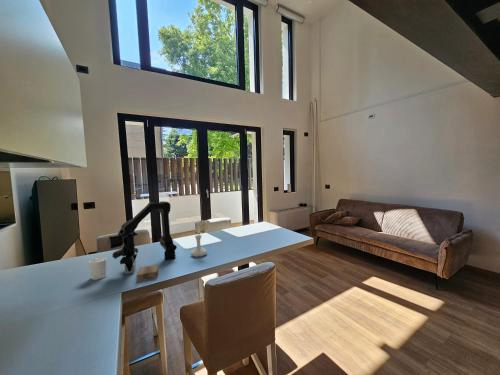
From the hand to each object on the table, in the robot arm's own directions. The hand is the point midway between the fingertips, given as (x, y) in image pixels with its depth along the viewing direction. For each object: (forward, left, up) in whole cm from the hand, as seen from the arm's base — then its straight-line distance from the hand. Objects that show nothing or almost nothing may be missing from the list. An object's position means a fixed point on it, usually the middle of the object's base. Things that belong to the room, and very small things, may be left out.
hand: (130, 269), depth 126 cm
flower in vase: (-42, -11, -2) cm, 43 cm away
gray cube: (0, 0, -1) cm, 1 cm away
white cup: (+16, +1, -2) cm, 16 cm away
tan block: (-11, +10, -2) cm, 15 cm away
